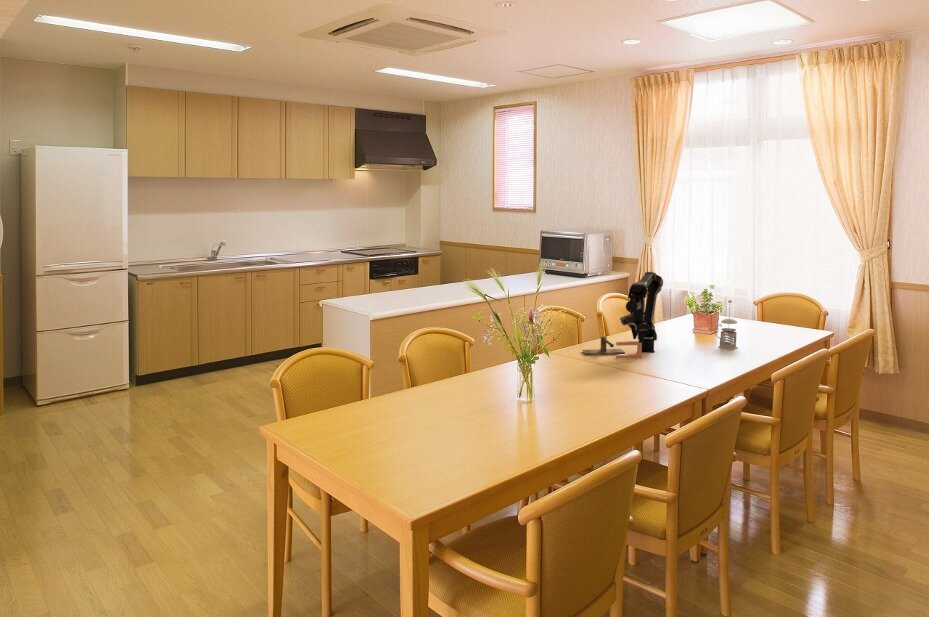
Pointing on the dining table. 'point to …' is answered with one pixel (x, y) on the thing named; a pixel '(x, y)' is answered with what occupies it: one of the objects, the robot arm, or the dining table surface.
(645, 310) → the robot arm
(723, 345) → the french press
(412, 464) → the dining table surface
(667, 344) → the dining table surface
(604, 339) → the stand
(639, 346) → the c link
